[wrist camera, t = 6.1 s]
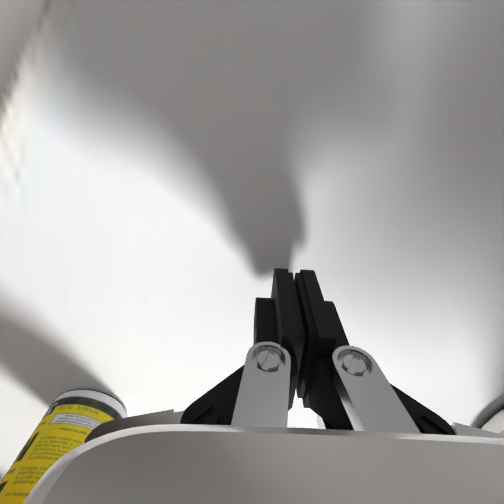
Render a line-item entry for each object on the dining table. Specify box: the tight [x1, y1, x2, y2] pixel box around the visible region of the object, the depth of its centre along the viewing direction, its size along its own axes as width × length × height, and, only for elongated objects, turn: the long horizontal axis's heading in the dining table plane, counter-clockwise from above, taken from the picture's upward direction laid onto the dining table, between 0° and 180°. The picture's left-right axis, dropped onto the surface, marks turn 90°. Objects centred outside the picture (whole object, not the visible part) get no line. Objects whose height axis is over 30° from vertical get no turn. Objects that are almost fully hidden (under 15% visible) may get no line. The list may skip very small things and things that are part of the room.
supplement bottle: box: [0, 390, 127, 504], centre depth 15 cm, size 5×5×8 cm
